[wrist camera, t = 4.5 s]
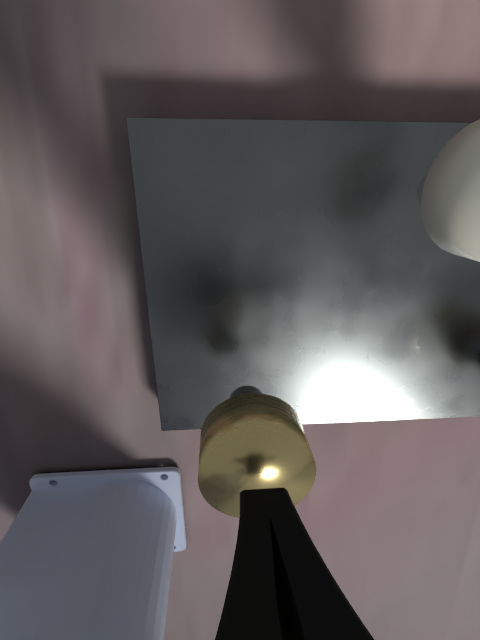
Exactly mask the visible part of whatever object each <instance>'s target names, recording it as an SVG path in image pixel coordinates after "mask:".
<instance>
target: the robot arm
mask: <svg viewBox="0 0 480 640" xmlns="http://www.w3.org/2000/svg"><path fill="white" fill-rule="evenodd" d="M163 474H166V475H163ZM54 480H55V481H54ZM29 485H30V488H31V493H30V494H29V496H28V498H27V499H26V501H25V503H24V504H23V506H22V508H21V509H20V511H19V513H18V514H17V516H16V518H15V519H14V521H13V523H12V524H11V526H10V528H9V529H8V531H7V533H6V534H5V536H4V538H3V539H2V541H1V543H0V640H163V638H164V629H165V620H166V612H167V603H168V594H169V586H170V577H171V568H172V559H173V552H176V551H183V550H184V549H185V548H186V531H185V520H184V509H183V499H182V488H181V477H180V470H179V469H178V468H176V467H156V468H137V469H119V470H100V471H81V472H62V473H43V474H35V475H33V476H32V478H31V479H30V481H29ZM215 640H374V639H373V637H372V636H371V634H370V633H369V632H368V630H367V629H366V627H365V626H364V624H363V623H362V621H361V620H360V618H359V617H358V615H357V614H356V612H355V611H354V609H353V608H352V606H351V605H350V603H349V602H348V600H347V599H346V597H345V595H344V594H343V592H342V591H341V589H340V588H339V586H338V585H337V583H336V581H335V580H334V578H333V576H332V575H331V573H330V571H329V570H328V568H327V566H326V565H325V563H324V561H323V559H322V558H321V556H320V554H319V552H318V551H317V549H316V547H315V546H314V544H313V542H312V540H311V538H310V536H309V535H308V533H307V531H306V529H305V527H304V525H303V523H302V521H301V519H300V517H299V515H298V513H297V511H296V509H295V507H294V504H293V502H292V500H291V498H290V495H289V493H288V490H287V489H285V488H267V489H250V490H243V491H242V492H240V520H239V529H238V537H237V544H236V549H235V555H234V561H233V566H232V572H231V577H230V581H229V585H228V590H227V594H226V598H225V603H224V607H223V611H222V615H221V619H220V623H219V627H218V631H217V635H216V638H215Z"/></svg>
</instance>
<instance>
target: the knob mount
mask: <svg viewBox="0 0 480 640" xmlns="http://www.w3.org/2000/svg"><path fill="white" fill-rule="evenodd" d="M126 120H127V129H128V137H129V146H130V155H131V164H132V173H133V182H134V190H135V199H136V208H137V217H138V226H139V235H140V243H141V252H142V261H143V270H144V279H145V288H146V297H147V305H148V314H149V323H150V332H151V341H152V350H153V358H154V367H155V376H156V385H157V394H158V403H159V411H160V420H161V429H162V431H168V430H189V429H202V426H203V423H204V421H205V419H206V417H207V416H208V415H209V413H210V412H211V411H212V410H213V409H214V408H215V407H216V406H218V405H219V404H220V403H222V402H224V401H225V400H227V399H229V398H230V395H231V393H232V392H233V391H234V390H235V389H237V388H239V387H241V386H254V387H256V388H258V389H259V390H260V391H261V392H262V394H267V395H271V396H274V397H277V398H279V399H281V400H283V401H285V402H286V403H288V404H289V405H290V406H291V407H292V408H293V409H294V410H295V412H296V413H297V415H298V417H299V419H300V422H301V424H320V423H341V422H363V421H385V420H407V419H428V418H450V417H472V416H480V262H478V261H475V260H471V259H468V258H464V257H461V256H458V255H454V254H451V253H449V252H446V251H445V250H443V249H441V248H440V247H439V246H438V245H436V244H435V243H434V242H433V240H432V239H431V238H430V236H429V235H428V233H427V231H426V229H425V226H424V223H423V219H422V212H421V206H420V204H419V202H418V199H417V189H418V186H419V183H420V181H421V179H422V178H423V176H424V175H425V174H426V173H427V172H428V171H429V170H430V168H431V166H432V164H433V162H434V160H435V158H436V157H437V155H438V154H439V152H440V151H441V150H442V148H443V147H444V146H445V145H446V144H447V143H448V142H449V140H450V139H451V138H452V137H453V136H455V135H456V134H457V133H458V132H459V131H461V130H462V129H463V128H465V127H466V126H468V125H469V124H471V123H455V122H387V121H318V120H250V119H181V118H126Z"/></svg>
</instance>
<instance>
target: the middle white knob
mask: <svg viewBox="0 0 480 640" xmlns="http://www.w3.org/2000/svg"><path fill="white" fill-rule="evenodd" d="M417 199H418V202H419V204H420V206H421V212H422V219H423V223H424V226H425V229H426V231H427V233H428V235H429V236H430V238H431V239H432V240H433V242H434V243H435V244H436V245H438V246H439V247H440V248H441V249H443V250H445V251H446V252H449V253H451V254H454V255H458V256H461V257H464V258H468V259H471V260H475V261H478V262H480V119H479V120H477V121H475V122H473V123H471V124H469V125H468V126H466V127H465V128H463V129H462V130H461V131H459V132H458V133H457V134H456V135H455V136H453V137H452V138H451V139H450V140H449V142H448V143H447V144H446V145H445V146H444V147H443V148H442V150H441V151H440V152H439V154H438V155H437V157H436V158H435V160H434V162H433V164H432V166H431V168H430V170H429V171H428V172H427V173H426V174H425V175H424V176H423V178H422V179H421V181H420V183H419V186H418V189H417Z"/></svg>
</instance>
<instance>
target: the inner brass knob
mask: <svg viewBox="0 0 480 640" xmlns="http://www.w3.org/2000/svg"><path fill="white" fill-rule="evenodd" d="M315 476H316V465H315V461H314V458H313V455H312V452H311V450H310V447H309V444H308V441H307V438H306V436H305V433H304V430H303V427H302V424H301V422H300V419H299V417H298V415H297V413H296V412H295V410H294V409H293V408H292V407H291V406H290V405H289V404H288V403H286V402H285V401H283V400H281V399H279V398H277V397H274V396H271V395H267V394H262V392H261V391H260V390H259V389H258V388H256V387H254V386H241V387H239V388H237V389H235V390H234V391H233V392H232V393H231V395H230V398H229V399H227V400H225V401H224V402H222V403H220V404H219V405H218V406H216V407H215V408H214V409H213V410H212V411H211V412H210V413H209V415H208V416H207V417H206V419H205V421H204V423H203V426H202V429H201V437H200V453H199V470H198V484H199V488H200V491H201V493H202V495H203V497H204V498H205V500H206V501H207V502H208V503H209V504H210V505H211V506H212V507H214V508H215V509H216V510H218V511H220V512H222V513H224V514H227V515H230V516H233V517H238V518H240V492H242V491H243V490H250V489H267V488H285V489H287V490H288V493H289V495H290V498H291V500H292V502H293V504H294V506H295V505H296V504H298V503H299V502H300V501H301V500H302V499H303V498H304V497H305V496H306V495H307V494H308V492H309V491H310V489H311V487H312V486H313V483H314V480H315Z"/></svg>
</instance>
